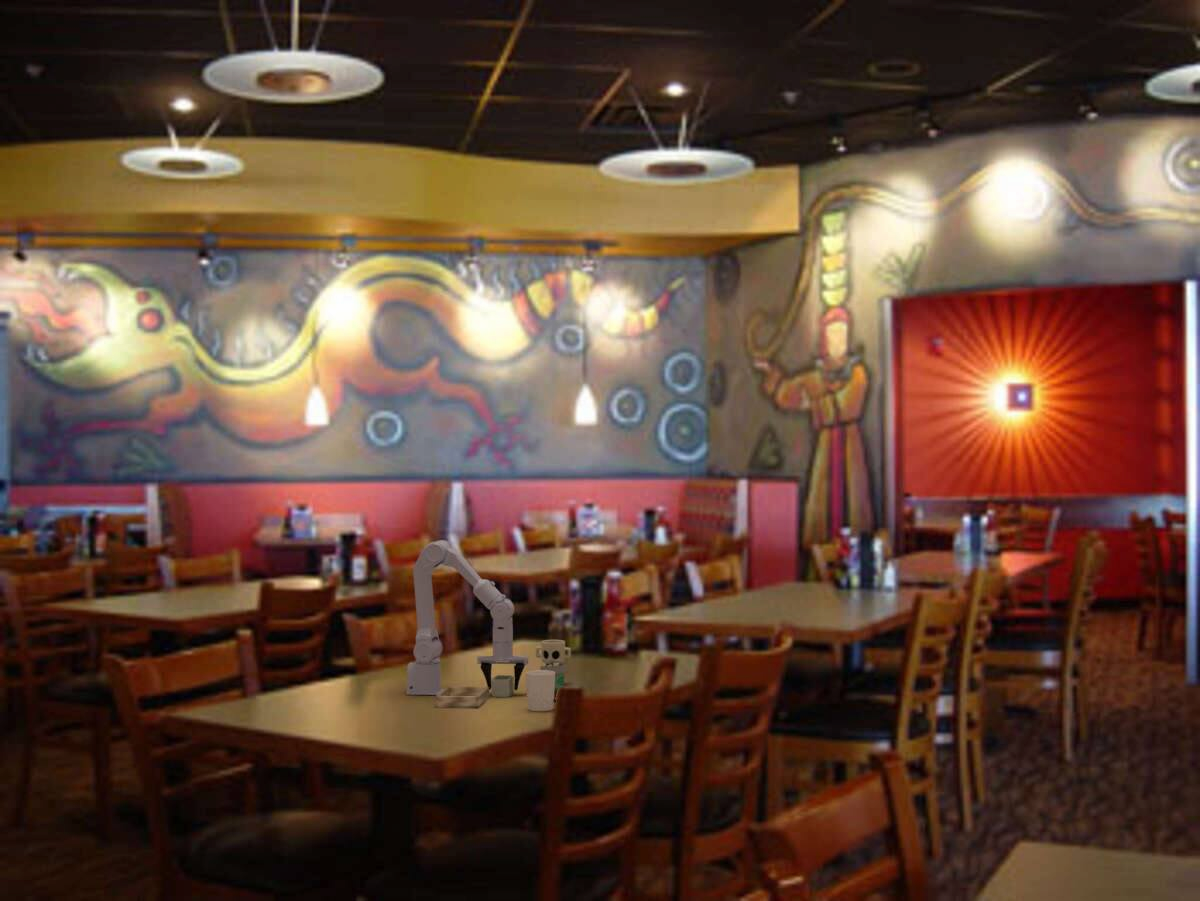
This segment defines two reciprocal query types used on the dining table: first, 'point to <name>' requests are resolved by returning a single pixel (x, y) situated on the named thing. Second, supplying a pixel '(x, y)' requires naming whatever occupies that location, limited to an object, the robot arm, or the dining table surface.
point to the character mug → (553, 651)
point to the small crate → (502, 685)
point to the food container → (556, 673)
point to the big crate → (462, 697)
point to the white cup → (540, 690)
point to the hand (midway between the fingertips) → (502, 689)
